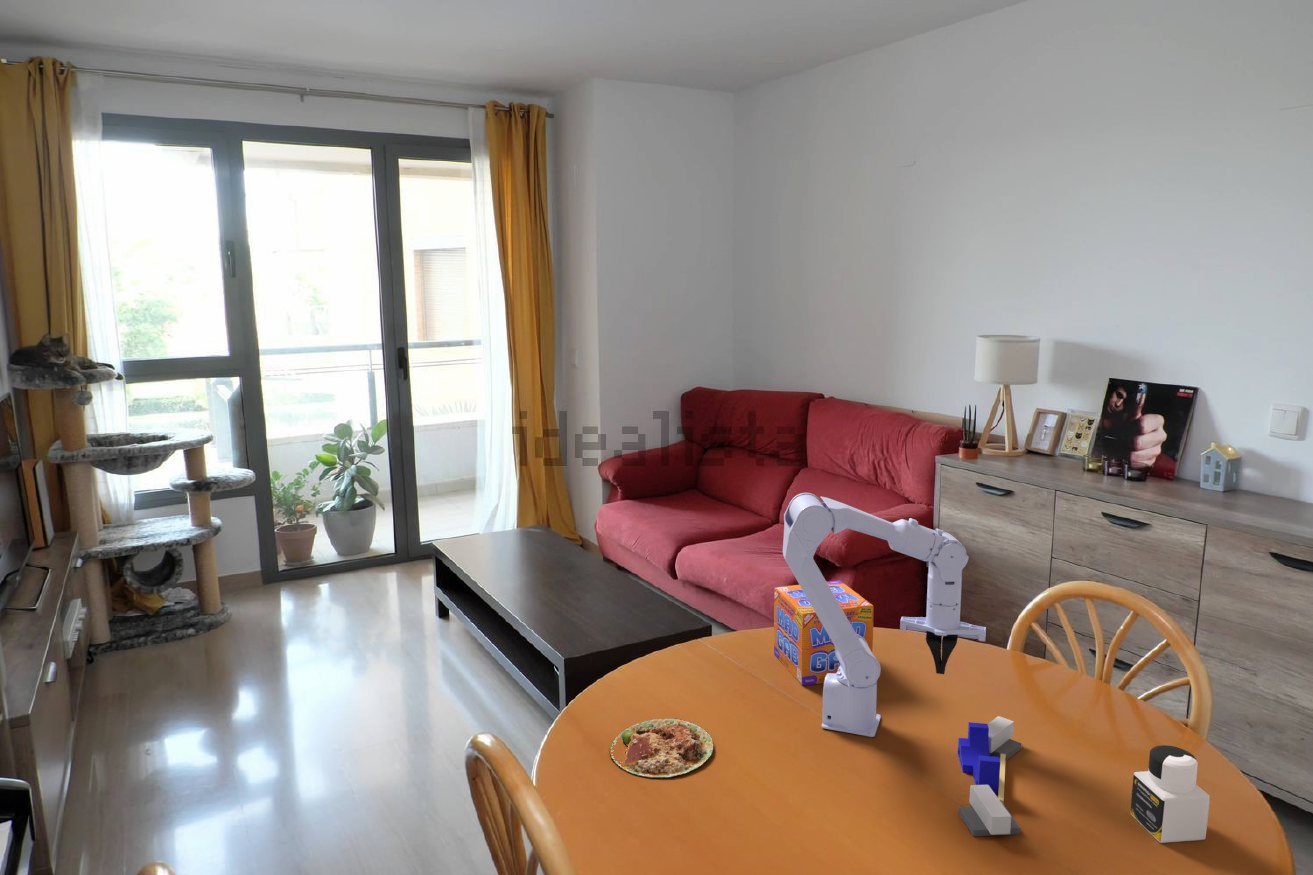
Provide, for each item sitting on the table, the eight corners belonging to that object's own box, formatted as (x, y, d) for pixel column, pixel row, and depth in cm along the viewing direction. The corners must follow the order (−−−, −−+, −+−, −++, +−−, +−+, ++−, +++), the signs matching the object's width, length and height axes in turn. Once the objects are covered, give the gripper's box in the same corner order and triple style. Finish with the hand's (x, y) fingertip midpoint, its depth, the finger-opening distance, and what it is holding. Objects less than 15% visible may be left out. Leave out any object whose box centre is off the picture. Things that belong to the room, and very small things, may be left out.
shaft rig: (955, 833, 128) (957, 809, 127) (968, 730, 156) (969, 711, 156) (1020, 847, 125) (1021, 823, 124) (1021, 739, 153) (1022, 719, 152)
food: (687, 791, 140) (687, 774, 140) (593, 769, 148) (592, 752, 147) (728, 736, 156) (727, 720, 156) (641, 718, 164) (640, 703, 163)
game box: (839, 646, 193) (840, 579, 190) (872, 677, 178) (874, 604, 175) (773, 654, 189) (773, 586, 187) (801, 686, 175) (802, 613, 172)
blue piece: (957, 753, 149) (959, 721, 148) (985, 756, 149) (987, 723, 147) (968, 794, 138) (970, 759, 137) (998, 796, 137) (1000, 762, 136)
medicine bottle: (1128, 814, 132) (1135, 741, 130) (1173, 810, 132) (1180, 738, 130) (1159, 844, 125) (1166, 767, 123) (1206, 840, 125) (1214, 764, 123)
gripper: (898, 603, 155) (896, 674, 157) (986, 613, 149) (982, 687, 151) (903, 589, 161) (901, 658, 163) (987, 599, 155) (984, 670, 158)
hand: (940, 671), depth 158 cm, fingers closed
